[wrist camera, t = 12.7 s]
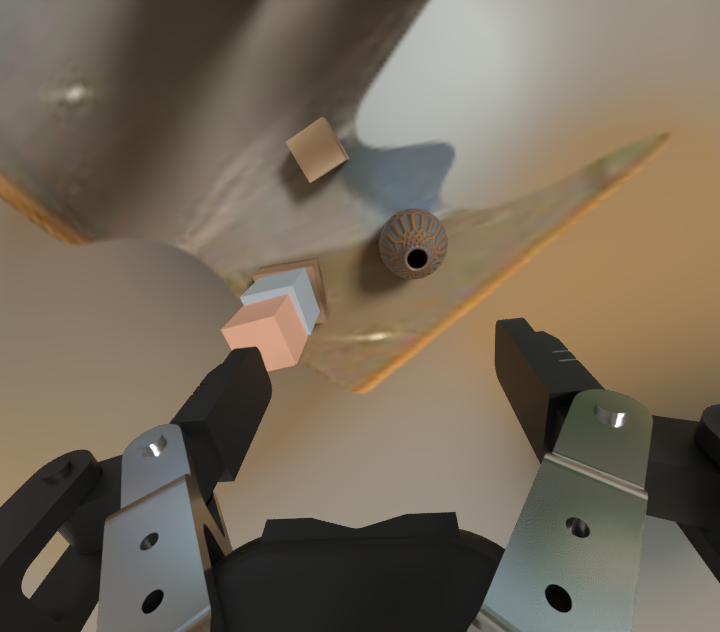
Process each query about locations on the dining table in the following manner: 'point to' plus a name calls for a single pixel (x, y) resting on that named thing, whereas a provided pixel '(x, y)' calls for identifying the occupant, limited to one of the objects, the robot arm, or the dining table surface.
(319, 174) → the maple block
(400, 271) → the vase
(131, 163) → the dining table surface
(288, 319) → the terracotta cube
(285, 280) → the slate cube
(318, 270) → the walnut slab
